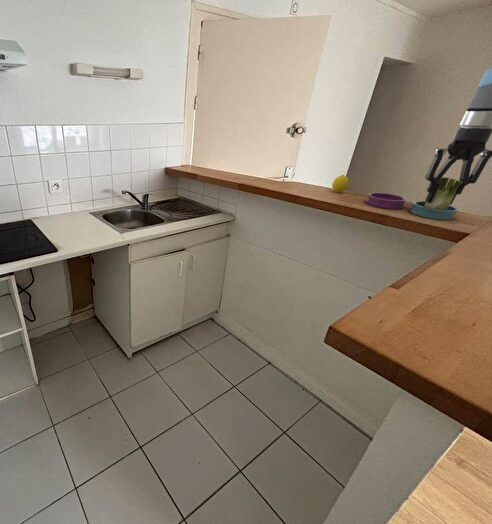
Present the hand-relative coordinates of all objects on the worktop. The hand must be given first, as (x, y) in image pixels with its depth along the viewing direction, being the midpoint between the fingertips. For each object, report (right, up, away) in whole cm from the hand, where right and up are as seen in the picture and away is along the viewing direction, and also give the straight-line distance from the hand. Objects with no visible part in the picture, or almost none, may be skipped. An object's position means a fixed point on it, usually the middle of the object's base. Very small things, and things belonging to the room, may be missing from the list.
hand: (437, 202), depth 96 cm
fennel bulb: (0, -3, +2) cm, 4 cm away
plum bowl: (-8, +1, +12) cm, 15 cm away
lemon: (-15, +10, +28) cm, 33 cm away
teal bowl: (0, -4, +2) cm, 5 cm away
